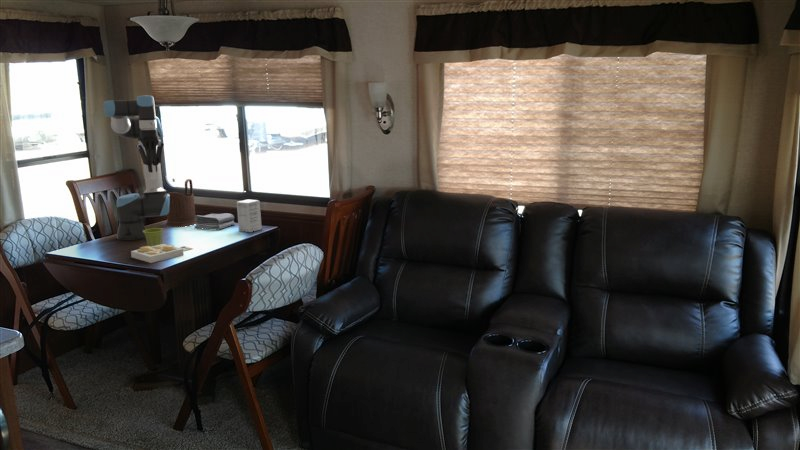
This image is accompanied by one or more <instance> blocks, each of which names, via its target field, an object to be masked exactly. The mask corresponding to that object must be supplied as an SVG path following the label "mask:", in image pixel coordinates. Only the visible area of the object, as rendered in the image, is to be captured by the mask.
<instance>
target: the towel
mask: <svg viewBox="0 0 800 450" xmlns="http://www.w3.org/2000/svg"><path fill="white" fill-rule="evenodd" d="M195 216H196V220H195V222H198V223H197V224H196V225H194V229H196V228H203V229H202V230H209V229H216V230H215V231H218V229H219V230H222V228H223V229H225V227H226V228H229V227H232V226H235V224H236V223H235V221H234V220H235V218H236V217H235V216H234V214H232V213H227V212H226V213H225V212H224V213H210V214H205V215H199V214H197V215H196V214H195ZM231 225H232V226H231ZM228 226H229V227H228Z"/></svg>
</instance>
